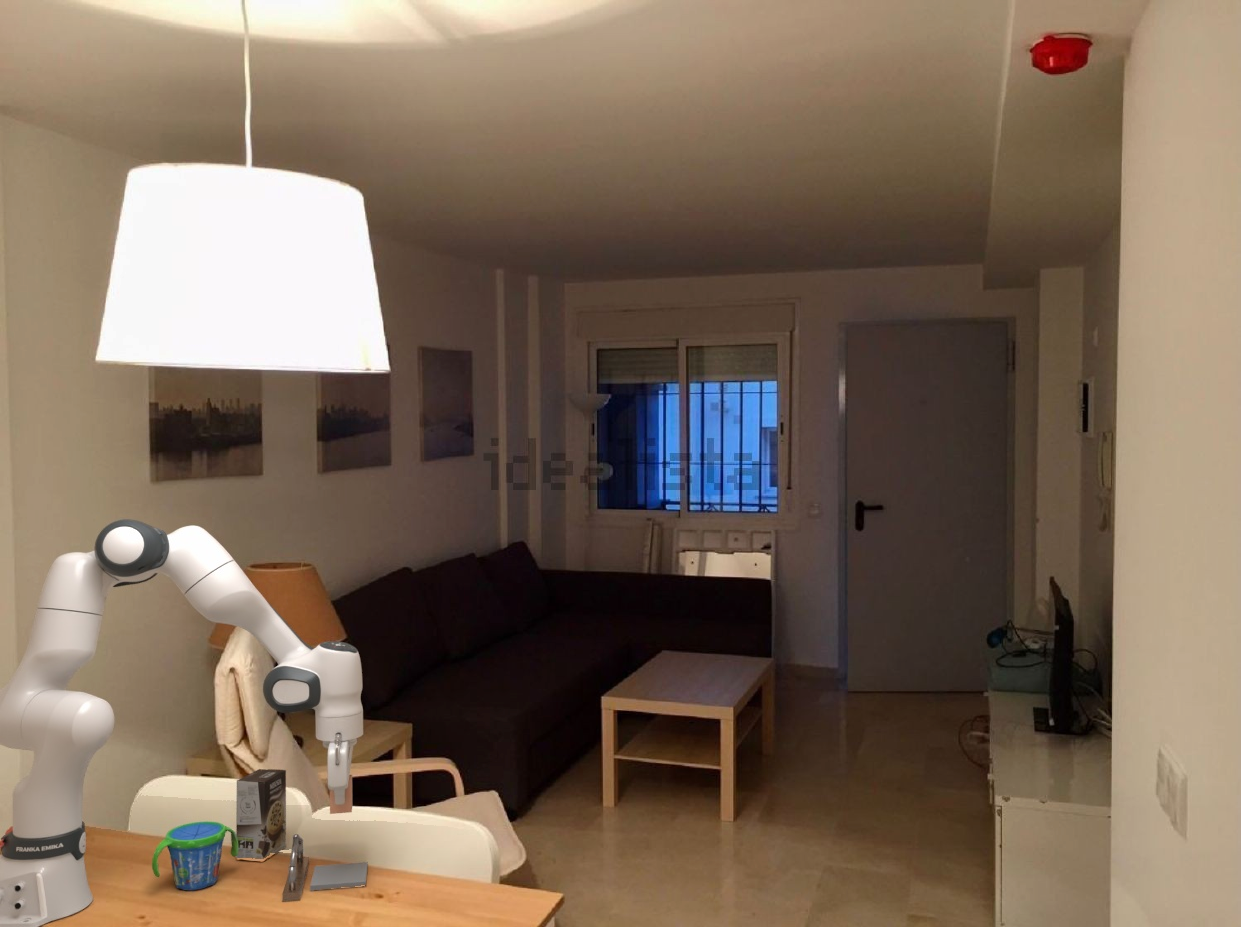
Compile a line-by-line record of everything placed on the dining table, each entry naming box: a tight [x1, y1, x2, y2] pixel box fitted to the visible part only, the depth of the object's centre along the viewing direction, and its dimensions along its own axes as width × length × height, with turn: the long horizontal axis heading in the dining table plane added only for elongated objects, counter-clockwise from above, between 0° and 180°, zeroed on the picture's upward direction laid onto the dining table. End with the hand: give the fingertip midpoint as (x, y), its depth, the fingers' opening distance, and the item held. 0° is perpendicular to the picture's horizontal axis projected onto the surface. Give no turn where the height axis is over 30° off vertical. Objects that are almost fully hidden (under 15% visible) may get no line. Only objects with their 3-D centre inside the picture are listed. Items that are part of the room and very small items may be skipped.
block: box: [329, 774, 353, 815], centre depth 205 cm, size 4×4×6 cm
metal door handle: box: [281, 833, 310, 903], centre depth 203 cm, size 3×18×9 cm, turn 11°
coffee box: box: [235, 768, 287, 859], centre depth 218 cm, size 9×6×16 cm
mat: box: [309, 861, 369, 892], centre depth 205 cm, size 10×10×1 cm
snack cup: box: [151, 821, 238, 891], centre depth 202 cm, size 16×10×10 cm
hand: (340, 798), depth 205 cm, fingers closed on block, 4 cm apart
